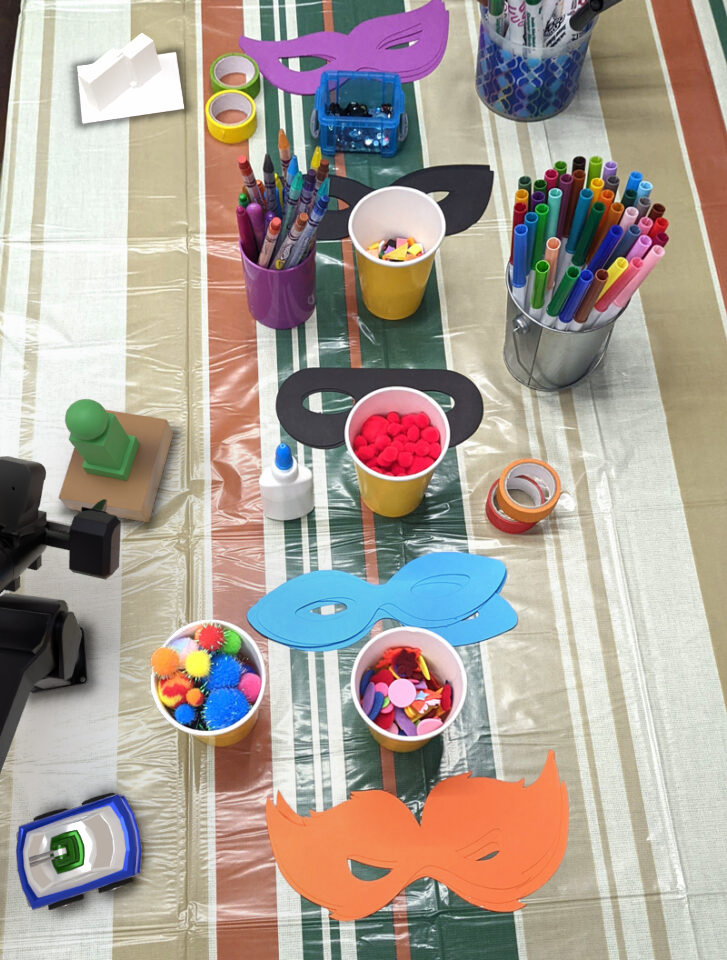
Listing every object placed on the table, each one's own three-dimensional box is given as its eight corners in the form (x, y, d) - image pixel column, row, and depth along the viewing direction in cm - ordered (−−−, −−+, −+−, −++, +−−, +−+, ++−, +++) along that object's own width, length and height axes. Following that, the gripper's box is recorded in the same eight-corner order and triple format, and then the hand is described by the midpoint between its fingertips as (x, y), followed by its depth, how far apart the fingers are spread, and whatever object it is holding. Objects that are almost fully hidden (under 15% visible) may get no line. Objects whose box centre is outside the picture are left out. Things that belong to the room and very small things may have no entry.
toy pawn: (127, 481, 104) (95, 436, 92) (86, 473, 105) (50, 427, 92) (139, 443, 106) (110, 394, 94) (99, 435, 106) (65, 385, 94)
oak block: (149, 522, 106) (141, 511, 103) (68, 509, 107) (58, 498, 103) (173, 432, 111) (166, 419, 107) (96, 420, 111) (87, 406, 108)
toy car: (24, 823, 94) (-12, 823, 86) (134, 786, 96) (110, 783, 87) (39, 915, 91) (4, 925, 82) (153, 876, 92) (130, 882, 84)
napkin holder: (82, 124, 128) (70, 94, 123) (76, 66, 132) (63, 34, 127) (185, 108, 129) (177, 77, 124) (175, 51, 134) (167, 18, 128)
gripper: (84, 506, 75) (152, 441, 89) (-121, 463, 77) (-22, 406, 91) (81, 616, 80) (147, 538, 94) (-112, 573, 81) (-19, 502, 95)
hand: (63, 494), depth 93 cm, fingers open, 9 cm apart
